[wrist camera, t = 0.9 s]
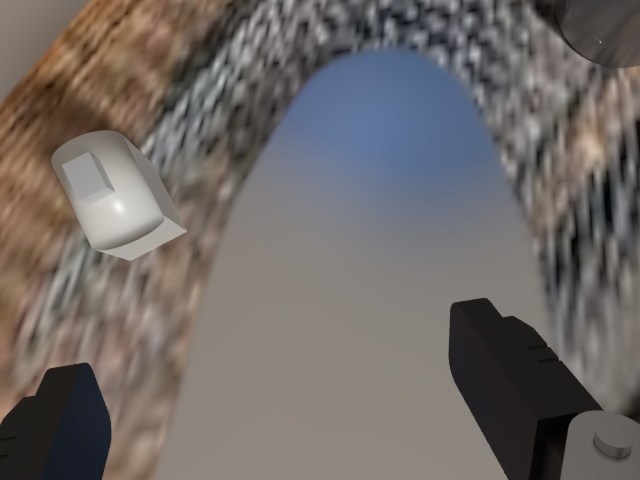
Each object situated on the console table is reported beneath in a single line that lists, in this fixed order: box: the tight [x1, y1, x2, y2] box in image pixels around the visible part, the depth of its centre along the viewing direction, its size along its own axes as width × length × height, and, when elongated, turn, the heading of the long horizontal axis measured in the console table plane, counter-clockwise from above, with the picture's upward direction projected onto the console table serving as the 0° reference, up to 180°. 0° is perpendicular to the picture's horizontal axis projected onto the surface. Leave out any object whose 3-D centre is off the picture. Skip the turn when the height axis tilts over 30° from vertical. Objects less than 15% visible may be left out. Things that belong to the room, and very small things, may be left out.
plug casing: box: [51, 130, 187, 261], centre depth 33 cm, size 4×6×9 cm
